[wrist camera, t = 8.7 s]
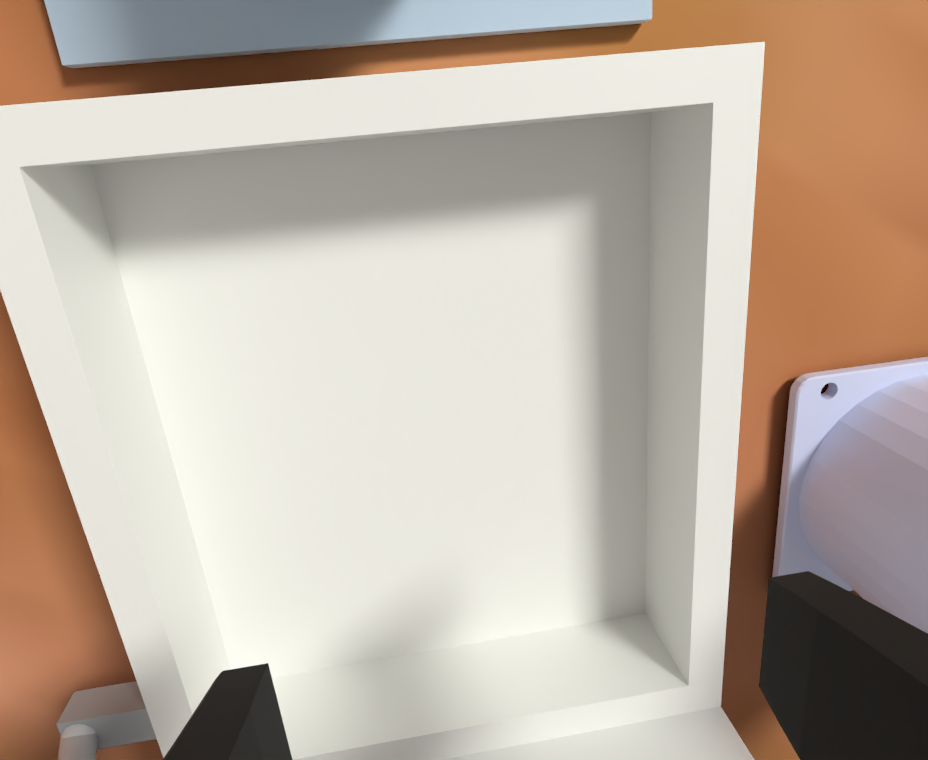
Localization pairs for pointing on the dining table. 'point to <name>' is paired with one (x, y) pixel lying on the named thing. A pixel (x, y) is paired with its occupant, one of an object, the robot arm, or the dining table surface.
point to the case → (402, 396)
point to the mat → (301, 24)
